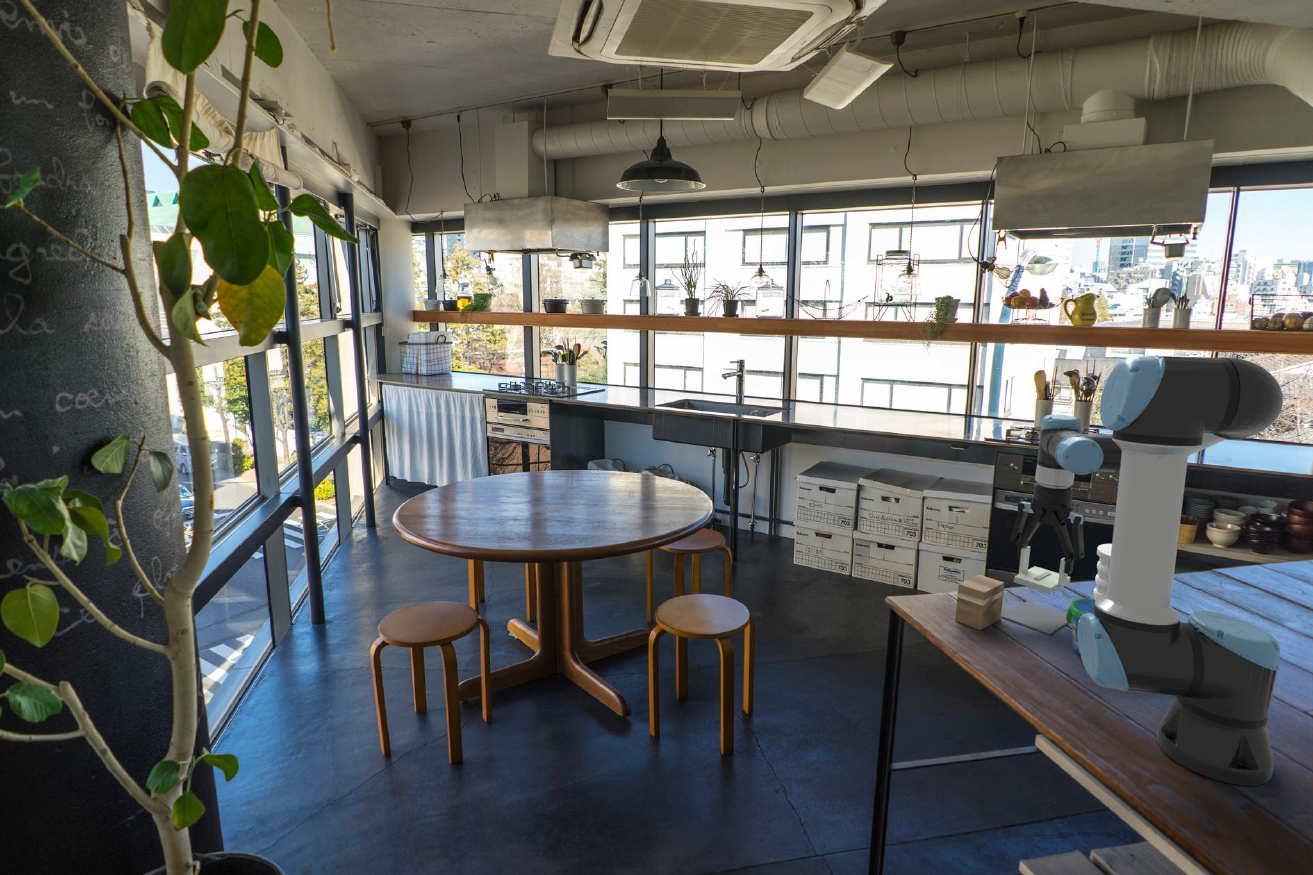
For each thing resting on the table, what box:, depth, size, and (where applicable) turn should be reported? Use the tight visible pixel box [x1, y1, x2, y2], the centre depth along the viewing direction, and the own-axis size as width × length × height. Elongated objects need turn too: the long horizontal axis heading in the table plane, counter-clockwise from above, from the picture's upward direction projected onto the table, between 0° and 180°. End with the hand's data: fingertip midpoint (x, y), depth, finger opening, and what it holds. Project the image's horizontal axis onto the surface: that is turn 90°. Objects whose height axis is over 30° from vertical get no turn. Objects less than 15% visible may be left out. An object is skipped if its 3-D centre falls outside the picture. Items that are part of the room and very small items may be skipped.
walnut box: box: [954, 574, 1005, 631], centre depth 165 cm, size 9×6×9 cm
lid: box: [1013, 566, 1071, 595], centre depth 165 cm, size 10×8×2 cm
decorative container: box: [1093, 543, 1112, 599], centre depth 160 cm, size 12×12×18 cm
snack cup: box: [1066, 598, 1096, 656], centre depth 149 cm, size 16×10×10 cm
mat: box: [1001, 600, 1069, 636], centre depth 167 cm, size 13×11×1 cm
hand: (1042, 579), depth 165 cm, fingers closed on lid, 8 cm apart
